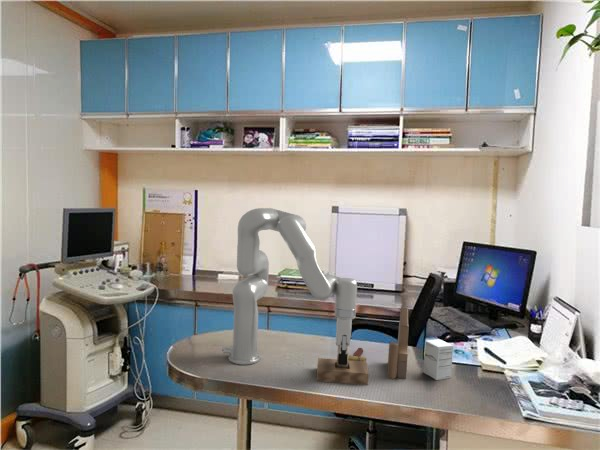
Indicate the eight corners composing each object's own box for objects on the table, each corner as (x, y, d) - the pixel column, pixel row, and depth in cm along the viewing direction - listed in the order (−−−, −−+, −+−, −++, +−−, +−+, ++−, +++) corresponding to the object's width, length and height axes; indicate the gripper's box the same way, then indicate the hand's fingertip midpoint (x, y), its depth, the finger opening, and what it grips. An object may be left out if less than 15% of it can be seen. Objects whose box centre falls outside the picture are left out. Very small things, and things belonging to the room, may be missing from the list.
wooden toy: (387, 362, 167) (390, 301, 165) (404, 364, 166) (408, 302, 164) (387, 378, 152) (391, 311, 150) (406, 380, 151) (410, 313, 149)
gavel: (350, 341, 181) (373, 345, 178) (350, 352, 181) (372, 356, 178) (339, 354, 161) (364, 359, 158) (338, 366, 161) (363, 371, 158)
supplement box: (422, 372, 159) (424, 340, 158) (437, 370, 162) (439, 338, 161) (436, 380, 152) (438, 346, 151) (451, 378, 155) (454, 344, 154)
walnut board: (316, 380, 147) (317, 369, 147) (317, 368, 158) (318, 358, 158) (367, 384, 146) (368, 373, 145) (365, 372, 157) (365, 361, 156)
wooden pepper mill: (336, 374, 150) (338, 342, 149) (336, 370, 154) (337, 338, 153) (347, 375, 150) (349, 342, 149) (347, 370, 154) (349, 339, 153)
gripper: (334, 305, 159) (331, 352, 160) (334, 318, 142) (332, 370, 143) (354, 307, 158) (351, 354, 160) (356, 319, 142) (354, 372, 143)
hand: (342, 361), depth 151 cm, fingers closed on wooden pepper mill, 4 cm apart
